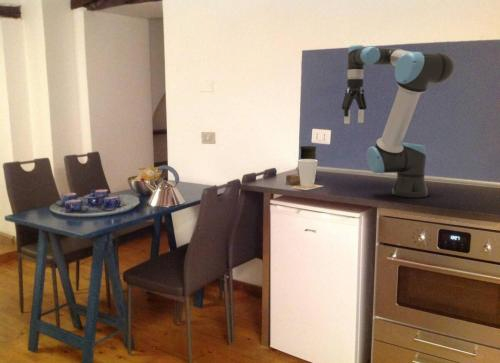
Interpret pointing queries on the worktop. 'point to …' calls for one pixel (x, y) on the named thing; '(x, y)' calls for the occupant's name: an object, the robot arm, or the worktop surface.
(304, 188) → the envelope
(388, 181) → the worktop surface
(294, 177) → the block
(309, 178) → the foam cup
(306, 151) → the container
